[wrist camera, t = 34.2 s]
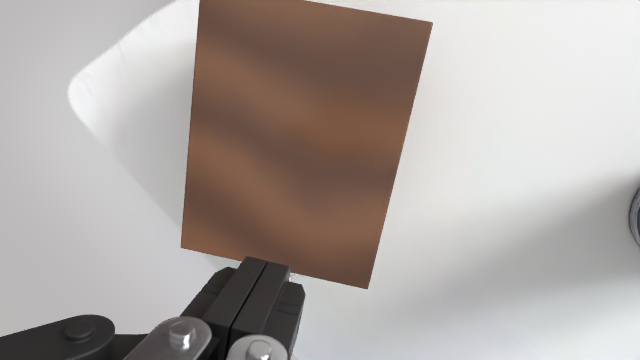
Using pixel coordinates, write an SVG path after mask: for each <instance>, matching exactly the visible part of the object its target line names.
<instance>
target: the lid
mask: <svg viewBox="0 0 640 360" xmlns="http://www.w3.org/2000/svg"><path fill="white" fill-rule="evenodd" d="M432 25H433V23H432V22H428V21H422V20H416V19H410V18H404V17H398V16H393V15H387V14H381V13H375V12H369V11H364V10H358V9H352V8H346V7H340V6H335V5H329V4H323V3H317V2H311V1H306V0H200V3H199V16H198V29H197V42H196V55H195V68H194V81H193V94H192V107H191V120H190V133H189V146H188V159H187V172H186V185H185V198H184V211H183V224H182V237H181V248H184V249H189V250H193V251H198V252H202V253H207V254H211V255H216V256H220V257H225V258H229V259H234V260H238V261H243V260H244V259H245V257H246V256H250V257H254V258H258V259H262V260H266V261H268V262H269V261H270V262H275V263H279V264H283V265H287V266H290V267H291V269H290V272H292V273H296V274H301V275H305V276H310V277H314V278H319V279H323V280H328V281H332V282H337V283H341V284H346V285H350V286H355V287H359V288H364V289H368V286H369V282H370V278H371V274H372V270H373V266H374V262H375V258H376V254H377V250H378V246H379V242H380V237H381V233H382V229H383V225H384V221H385V217H386V213H387V209H388V205H389V201H390V197H391V193H392V189H393V184H394V180H395V176H396V172H397V168H398V164H399V160H400V156H401V152H402V148H403V144H404V140H405V136H406V131H407V127H408V123H409V119H410V115H411V111H412V107H413V103H414V99H415V95H416V91H417V87H418V83H419V78H420V74H421V70H422V66H423V62H424V58H425V54H426V50H427V46H428V42H429V38H430V34H431V30H432Z"/></svg>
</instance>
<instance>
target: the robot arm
mask: <svg viewBox="0 0 640 360" xmlns="http://www.w3.org/2000/svg"><path fill="white" fill-rule="evenodd" d="M630 226H631V231H632V234H633V236H634V238H635V240H636V241H637V243H638V244H639V245H640V190H639V191H638V193H637V195H636V197H635V199H634V201H633V204H632V207H631V211H630ZM290 269H291V267H290V266H287V265H283V264H279V263H275V262H270V261H269V262H268V261H266V260H262V259H258V258H254V257H250V256H246V257H245V259H244V260H243V262H242V263H241V264H240V266H239V267H238V269H235V268H231V267H226V268H224V269H222V270H220V271H218V272H216V273H215V274H214V275H213V276H212V277H211V279H210V280H209V281H208V283H207V284H206V285H205V286H204V287H203V288H202V290H201V291H200V292H199V293H198V294H197V295H196V297H195V298H194V299H193V300H192V302H191V303H190V304H189V305H188V306H187V308H186V309H185V310H184V311H183V313H182V314H181V315H180V316H179V317H174V318H171V319H168V320H166V321H164V322H162V323H161V324H159V325H158V326H157V327H156V328H155V329H154V330H152V331H151V332H150V333H149V334H139V335H130V334H127V335H126V334H115V327H114V324H113V322H112V321H111V320H109V319H108V318H106V317H103V316H99V315H80V316H75V317H71V318H67V319H64V320H61V321H57V322H53V323H50V324H46V325H42V326H39V327H35V328H31V329H28V330H24V331H20V332H17V333H13V334H10V335H6V336H3V337H0V360H290V359H291V355H292V352H293V348H294V345H295V341H296V338H297V334H298V329H299V324H300V319H301V314H302V309H303V305H304V300H305V292H304V289H303V287H302V285H301V284H297V283H293V282H289V281H288V280H289V275H290Z"/></svg>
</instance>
